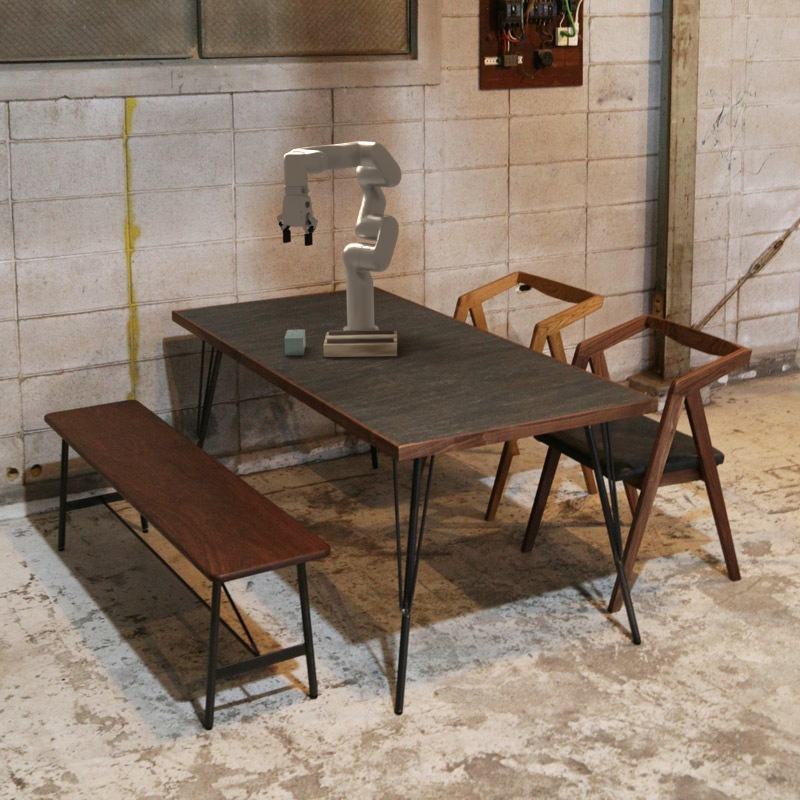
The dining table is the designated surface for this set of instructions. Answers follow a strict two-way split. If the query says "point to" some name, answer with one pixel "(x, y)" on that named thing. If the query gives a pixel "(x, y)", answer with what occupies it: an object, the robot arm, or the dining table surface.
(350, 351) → the stand
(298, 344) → the housing
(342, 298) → the dining table surface
